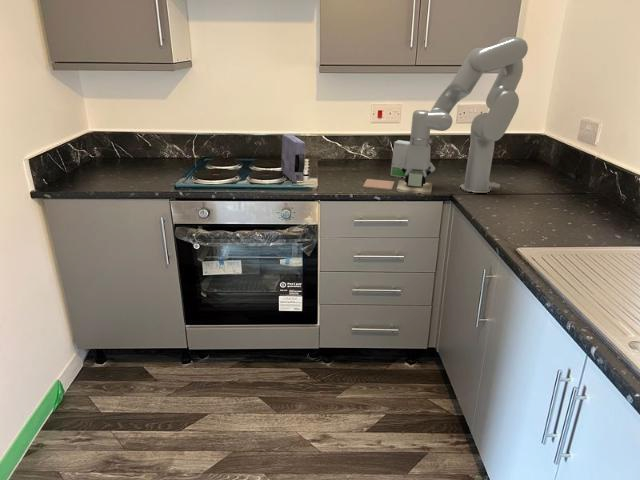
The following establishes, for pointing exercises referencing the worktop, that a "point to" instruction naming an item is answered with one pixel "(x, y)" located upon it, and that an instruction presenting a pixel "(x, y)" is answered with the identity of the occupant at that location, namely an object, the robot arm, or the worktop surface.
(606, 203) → the worktop surface
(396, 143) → the skincare box
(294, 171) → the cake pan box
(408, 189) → the post stand
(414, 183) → the grey green cube
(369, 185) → the terracotta tile
